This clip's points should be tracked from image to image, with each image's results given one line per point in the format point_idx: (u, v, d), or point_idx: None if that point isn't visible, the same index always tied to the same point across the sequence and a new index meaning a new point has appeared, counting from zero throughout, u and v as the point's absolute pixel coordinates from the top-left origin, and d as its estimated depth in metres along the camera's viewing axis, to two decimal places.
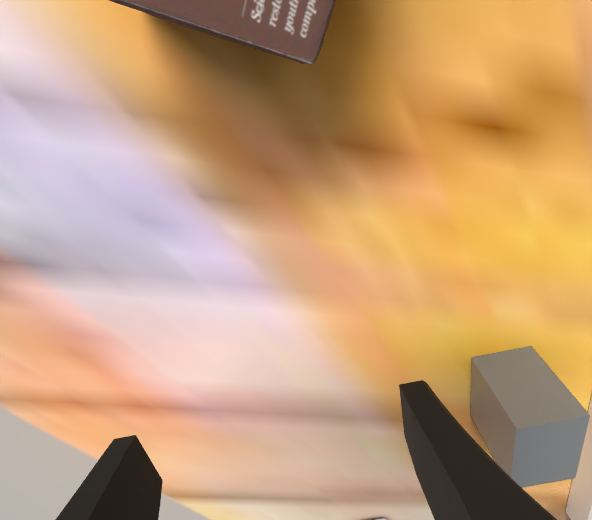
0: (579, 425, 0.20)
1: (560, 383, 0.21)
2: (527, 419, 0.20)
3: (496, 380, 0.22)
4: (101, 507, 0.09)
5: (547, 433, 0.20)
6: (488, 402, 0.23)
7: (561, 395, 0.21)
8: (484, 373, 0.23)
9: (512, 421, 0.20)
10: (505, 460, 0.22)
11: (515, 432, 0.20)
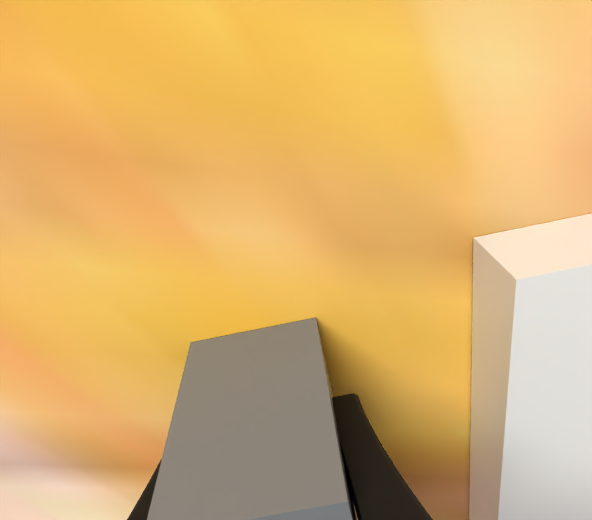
0: None
1: (325, 403, 0.09)
2: (190, 506, 0.07)
3: (198, 393, 0.09)
4: None
5: None
6: None
7: (312, 435, 0.08)
8: (187, 378, 0.10)
9: (151, 514, 0.07)
10: None
11: None
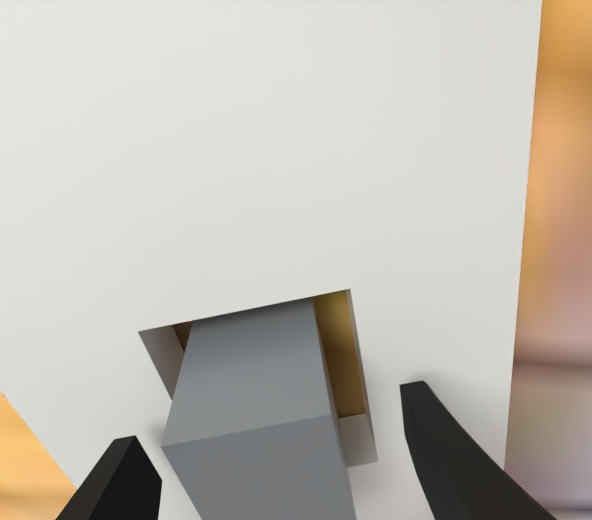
0: (315, 437, 0.08)
1: (314, 345, 0.10)
2: (199, 422, 0.09)
3: (205, 342, 0.11)
4: (101, 507, 0.09)
5: (244, 456, 0.09)
6: None
7: (302, 369, 0.09)
8: (195, 331, 0.11)
9: (167, 429, 0.09)
10: None
11: (166, 455, 0.08)
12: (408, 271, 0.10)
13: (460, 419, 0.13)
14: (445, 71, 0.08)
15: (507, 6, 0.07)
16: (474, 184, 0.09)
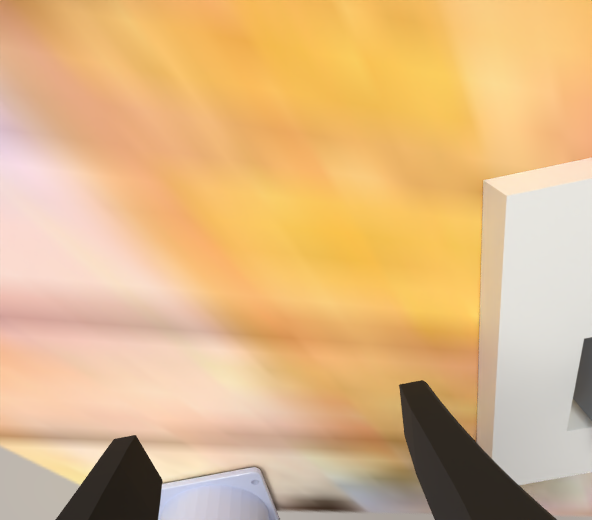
0: None
1: None
2: None
3: None
4: (101, 507, 0.09)
5: None
6: None
7: None
8: None
9: None
10: None
11: None
12: None
13: None
14: None
15: None
16: None
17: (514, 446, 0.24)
